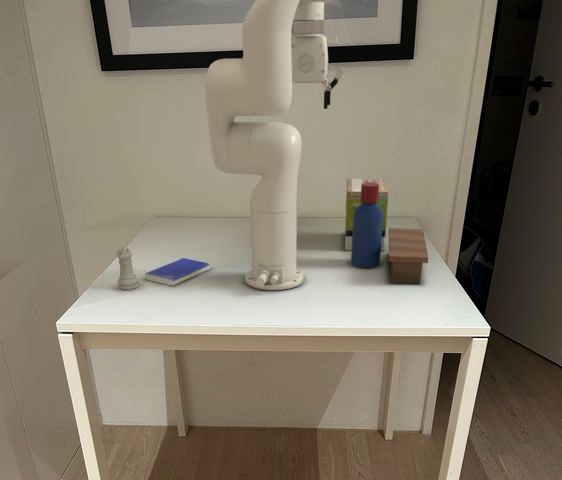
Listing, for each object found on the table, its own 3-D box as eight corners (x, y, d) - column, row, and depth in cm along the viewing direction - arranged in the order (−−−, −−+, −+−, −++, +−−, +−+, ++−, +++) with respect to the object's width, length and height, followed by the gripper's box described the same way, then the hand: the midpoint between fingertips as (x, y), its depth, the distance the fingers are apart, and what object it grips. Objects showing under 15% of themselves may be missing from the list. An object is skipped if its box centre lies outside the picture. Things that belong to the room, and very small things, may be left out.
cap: (377, 203, 126) (378, 186, 124) (360, 203, 127) (361, 186, 125) (377, 199, 129) (379, 183, 128) (360, 199, 130) (361, 182, 128)
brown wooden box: (425, 286, 122) (428, 257, 119) (386, 284, 123) (388, 256, 120) (420, 254, 141) (423, 229, 138) (387, 253, 142) (389, 227, 139)
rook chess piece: (144, 285, 124) (139, 249, 120) (128, 292, 121) (122, 254, 117) (129, 281, 126) (124, 245, 122) (113, 287, 123) (107, 251, 119)
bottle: (379, 269, 132) (385, 190, 123) (350, 267, 133) (354, 189, 124) (379, 260, 137) (385, 183, 129) (351, 258, 138) (355, 183, 130)
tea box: (344, 234, 157) (346, 177, 150) (381, 234, 156) (386, 177, 149) (344, 251, 144) (346, 189, 136) (385, 251, 143) (390, 190, 136)
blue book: (173, 279, 123) (209, 263, 132) (144, 272, 126) (182, 257, 136) (173, 286, 123) (210, 269, 132) (145, 279, 127) (182, 263, 136)
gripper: (269, 30, 137) (270, 109, 145) (342, 29, 135) (339, 109, 143) (274, 31, 144) (275, 107, 152) (344, 30, 141) (341, 107, 149)
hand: (306, 108), depth 147 cm, fingers open, 9 cm apart
